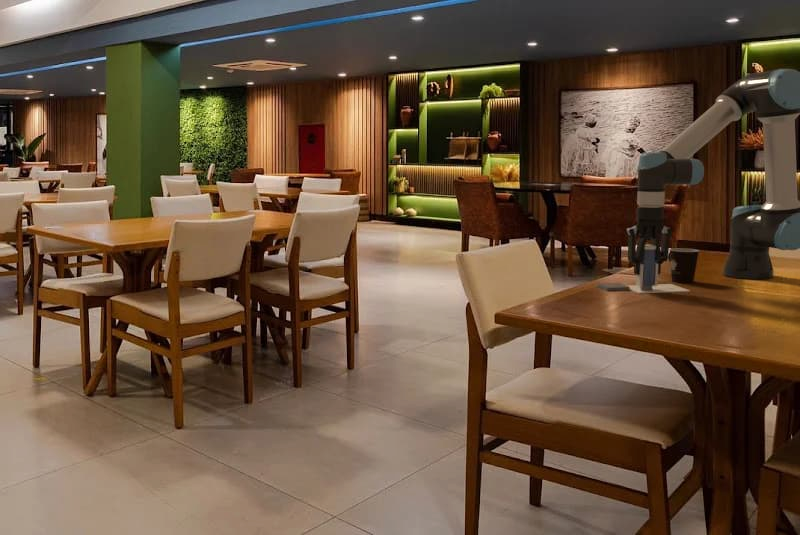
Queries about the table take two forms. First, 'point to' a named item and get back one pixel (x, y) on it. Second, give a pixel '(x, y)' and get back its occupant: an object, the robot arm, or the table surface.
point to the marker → (648, 267)
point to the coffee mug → (683, 264)
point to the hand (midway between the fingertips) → (646, 285)
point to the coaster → (613, 287)
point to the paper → (659, 289)
